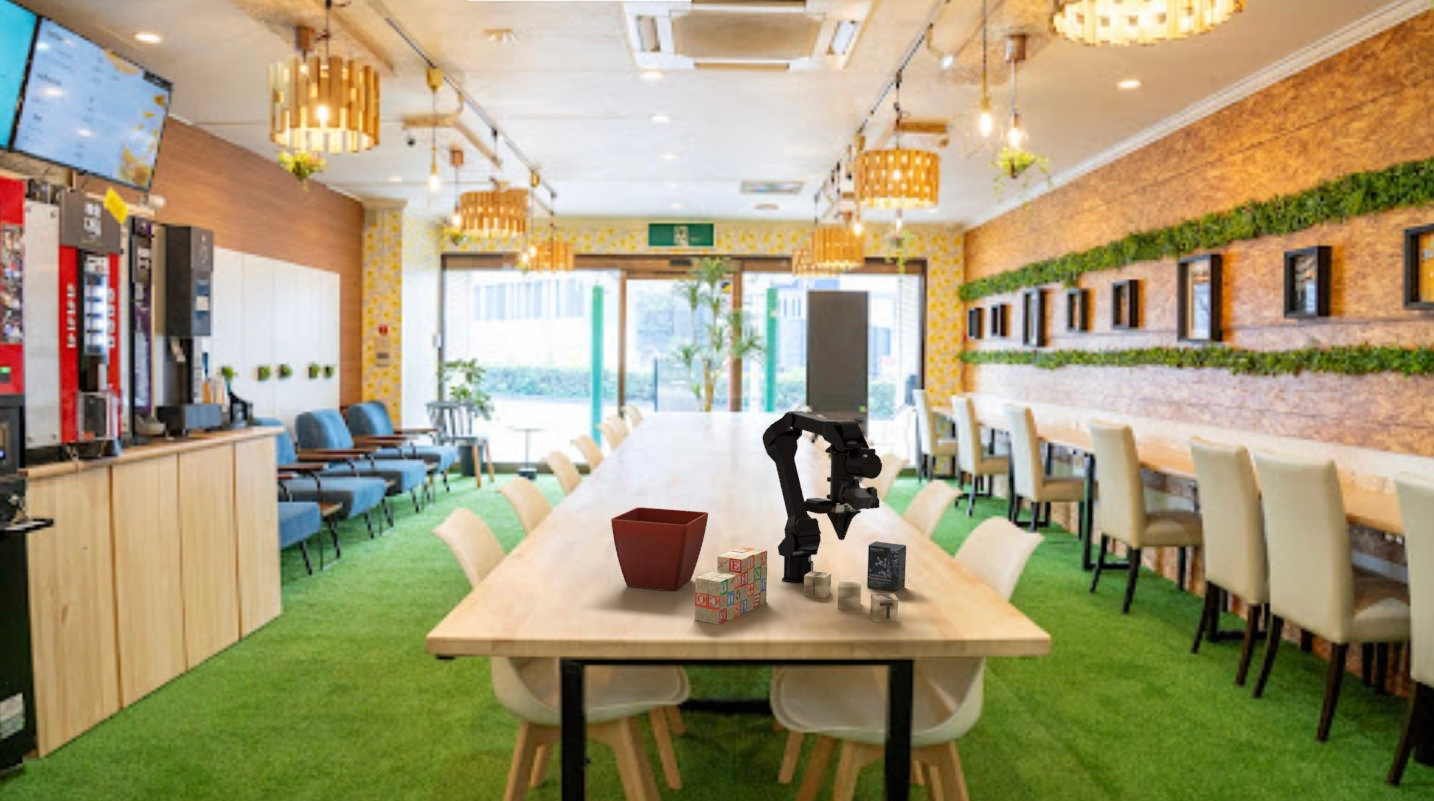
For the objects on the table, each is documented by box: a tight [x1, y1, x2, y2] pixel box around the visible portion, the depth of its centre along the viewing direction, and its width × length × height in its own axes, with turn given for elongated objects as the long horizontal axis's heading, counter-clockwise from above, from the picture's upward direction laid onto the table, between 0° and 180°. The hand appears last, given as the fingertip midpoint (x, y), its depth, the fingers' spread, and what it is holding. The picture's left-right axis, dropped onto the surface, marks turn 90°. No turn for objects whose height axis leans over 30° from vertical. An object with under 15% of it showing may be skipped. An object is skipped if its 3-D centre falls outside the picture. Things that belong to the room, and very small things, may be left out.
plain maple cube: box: [836, 580, 862, 611], centre depth 215 cm, size 5×5×5 cm
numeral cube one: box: [803, 570, 832, 599], centre depth 224 cm, size 5×5×5 cm
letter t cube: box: [869, 592, 899, 623], centre depth 205 cm, size 5×5×5 cm
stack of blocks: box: [694, 546, 768, 625], centre depth 209 cm, size 21×6×12 cm, turn 150°
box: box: [866, 540, 907, 593], centre depth 232 cm, size 8×6×11 cm
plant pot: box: [610, 506, 709, 592], centre depth 232 cm, size 19×19×17 cm
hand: (841, 539), depth 224 cm, fingers closed
